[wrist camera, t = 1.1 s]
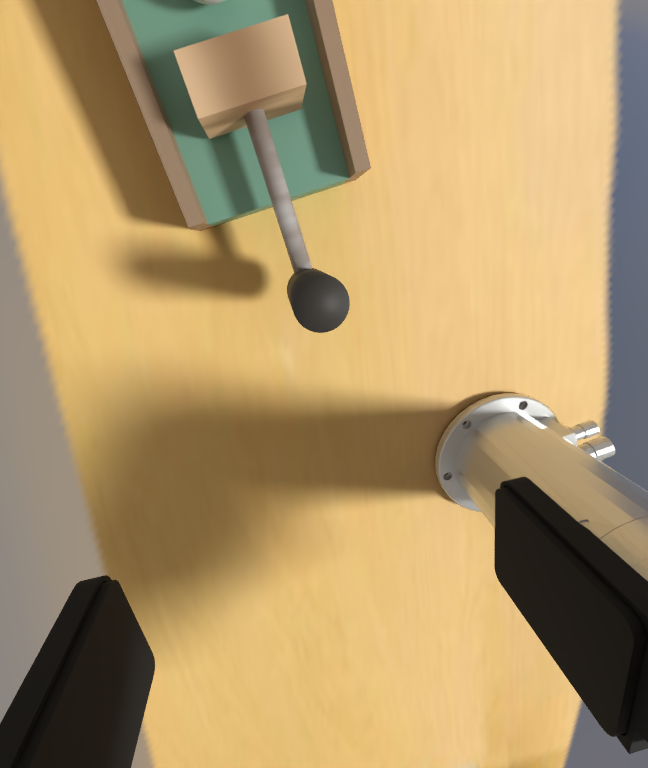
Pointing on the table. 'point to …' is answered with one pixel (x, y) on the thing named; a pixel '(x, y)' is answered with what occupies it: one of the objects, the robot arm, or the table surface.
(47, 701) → the robot arm
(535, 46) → the table surface
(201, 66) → the striker
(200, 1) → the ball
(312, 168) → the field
